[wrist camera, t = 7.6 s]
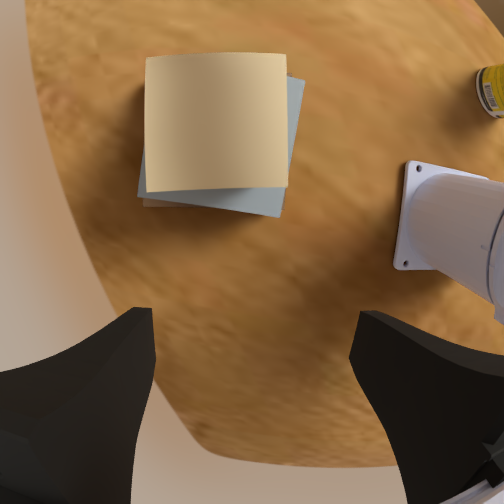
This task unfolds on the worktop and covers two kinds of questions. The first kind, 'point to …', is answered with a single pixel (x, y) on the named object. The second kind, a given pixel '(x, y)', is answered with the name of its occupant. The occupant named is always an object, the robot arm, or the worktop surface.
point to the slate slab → (239, 198)
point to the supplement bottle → (491, 89)
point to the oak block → (216, 121)
